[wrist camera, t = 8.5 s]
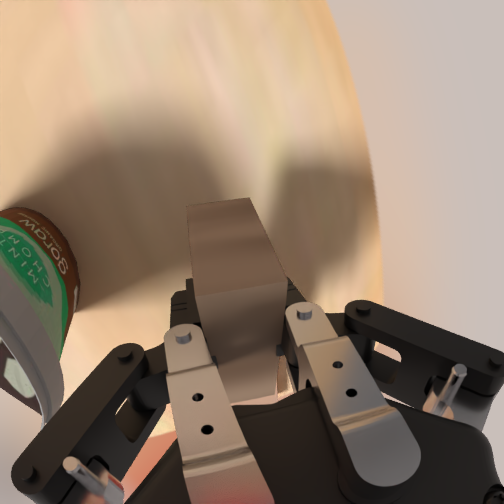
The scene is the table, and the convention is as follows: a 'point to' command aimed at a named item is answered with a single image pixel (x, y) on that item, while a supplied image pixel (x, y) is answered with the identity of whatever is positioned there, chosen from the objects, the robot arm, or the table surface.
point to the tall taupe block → (238, 295)
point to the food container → (34, 308)
